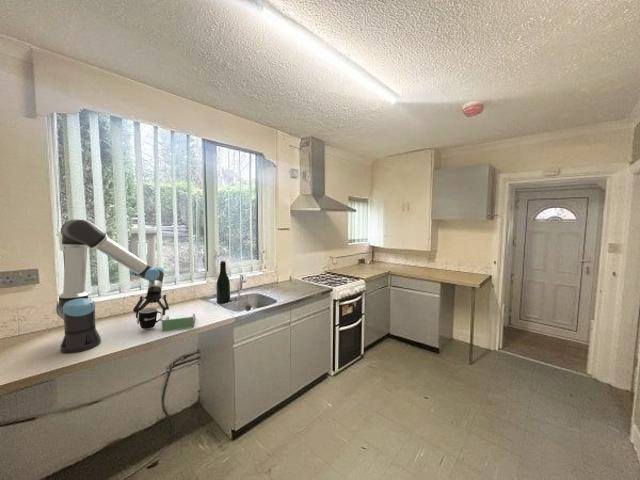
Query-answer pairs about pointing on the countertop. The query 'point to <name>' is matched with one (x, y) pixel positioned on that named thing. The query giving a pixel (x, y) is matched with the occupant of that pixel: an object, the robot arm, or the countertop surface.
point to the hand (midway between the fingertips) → (149, 321)
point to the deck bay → (178, 323)
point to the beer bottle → (223, 285)
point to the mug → (148, 318)
